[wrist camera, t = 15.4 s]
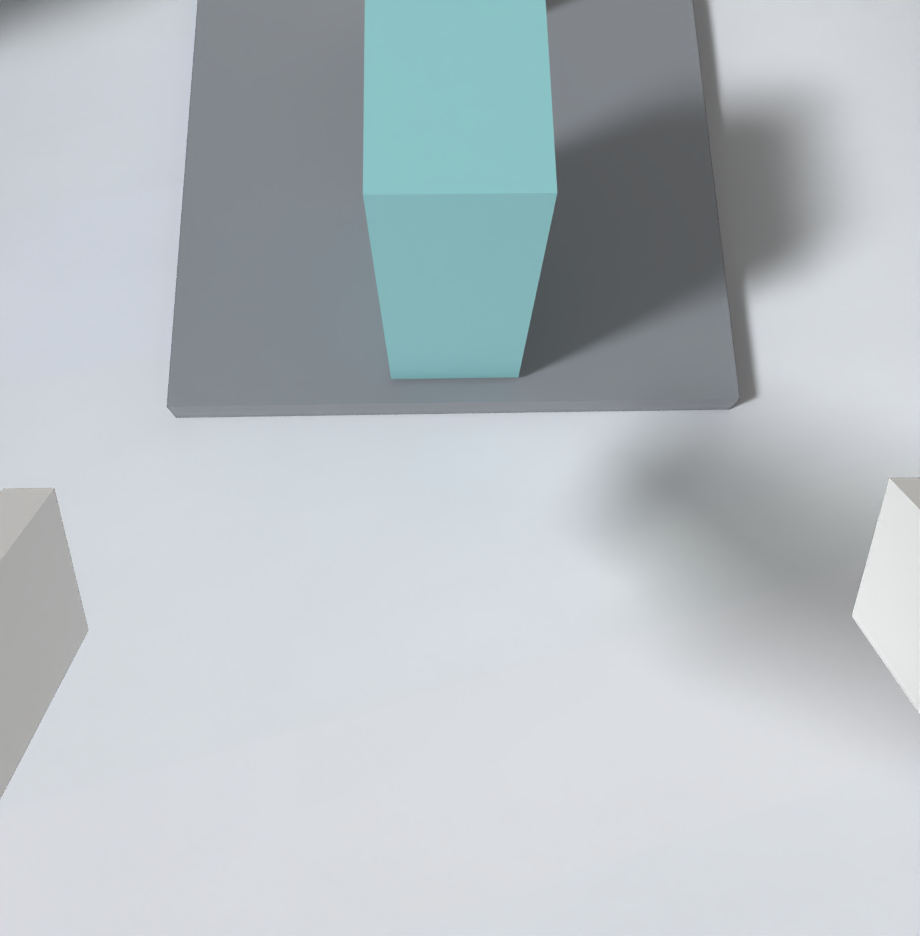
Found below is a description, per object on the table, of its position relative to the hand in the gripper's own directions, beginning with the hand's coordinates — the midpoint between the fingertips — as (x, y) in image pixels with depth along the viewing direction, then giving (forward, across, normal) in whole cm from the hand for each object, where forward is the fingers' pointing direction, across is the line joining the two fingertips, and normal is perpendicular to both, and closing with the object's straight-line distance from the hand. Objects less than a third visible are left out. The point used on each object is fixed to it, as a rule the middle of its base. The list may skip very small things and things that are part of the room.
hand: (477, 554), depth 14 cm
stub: (+16, 0, +1) cm, 16 cm away
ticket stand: (+24, 0, -6) cm, 25 cm away
